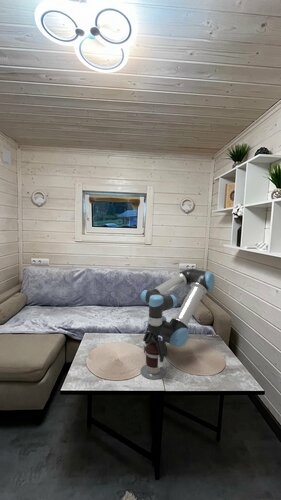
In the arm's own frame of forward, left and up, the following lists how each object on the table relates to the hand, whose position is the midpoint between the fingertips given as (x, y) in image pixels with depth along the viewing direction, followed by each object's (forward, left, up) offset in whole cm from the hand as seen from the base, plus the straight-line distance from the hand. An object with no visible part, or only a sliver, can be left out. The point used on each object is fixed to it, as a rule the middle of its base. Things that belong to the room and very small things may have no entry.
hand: (153, 360), depth 138 cm
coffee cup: (0, 0, -6) cm, 6 cm away
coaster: (0, 0, -7) cm, 7 cm away
